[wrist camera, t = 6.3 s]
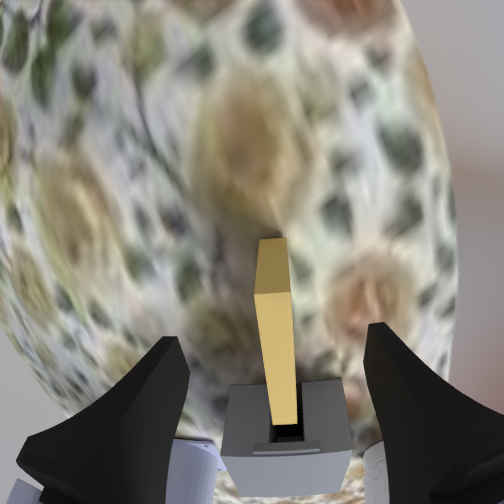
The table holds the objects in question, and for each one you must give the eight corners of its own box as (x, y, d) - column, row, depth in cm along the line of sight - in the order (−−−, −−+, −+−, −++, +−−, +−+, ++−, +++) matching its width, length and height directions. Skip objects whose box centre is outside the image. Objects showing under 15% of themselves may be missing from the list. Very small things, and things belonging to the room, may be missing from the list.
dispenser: (247, 441, 28) (241, 496, 22) (229, 380, 23) (218, 452, 17) (333, 436, 27) (338, 492, 21) (342, 373, 22) (354, 445, 16)
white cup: (350, 448, 28) (358, 523, 19) (415, 424, 26) (435, 499, 17) (366, 467, 31) (374, 529, 22) (421, 446, 29) (437, 508, 20)
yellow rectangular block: (274, 363, 22) (273, 424, 17) (259, 239, 17) (253, 294, 13) (294, 362, 22) (297, 423, 17) (286, 237, 17) (290, 291, 12)
